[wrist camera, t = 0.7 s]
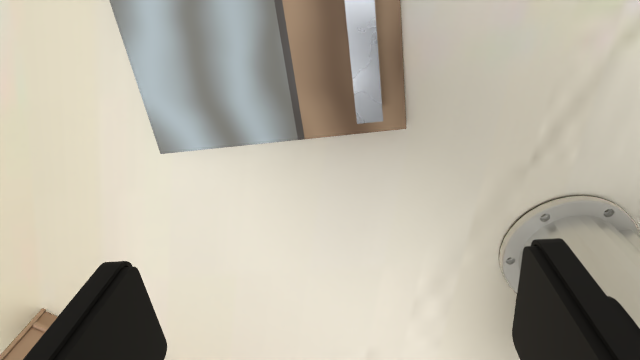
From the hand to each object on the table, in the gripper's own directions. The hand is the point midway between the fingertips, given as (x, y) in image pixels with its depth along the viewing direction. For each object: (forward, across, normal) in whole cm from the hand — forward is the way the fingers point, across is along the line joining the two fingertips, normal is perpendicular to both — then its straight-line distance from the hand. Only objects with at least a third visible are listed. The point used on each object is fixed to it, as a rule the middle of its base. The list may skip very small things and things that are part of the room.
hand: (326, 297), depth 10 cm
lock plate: (+28, +6, -3) cm, 28 cm away
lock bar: (+26, -2, -3) cm, 26 cm away
